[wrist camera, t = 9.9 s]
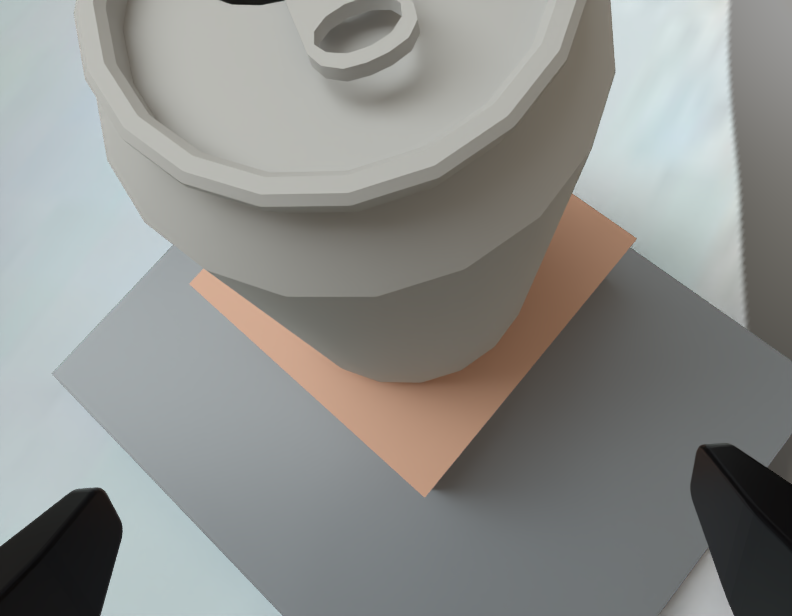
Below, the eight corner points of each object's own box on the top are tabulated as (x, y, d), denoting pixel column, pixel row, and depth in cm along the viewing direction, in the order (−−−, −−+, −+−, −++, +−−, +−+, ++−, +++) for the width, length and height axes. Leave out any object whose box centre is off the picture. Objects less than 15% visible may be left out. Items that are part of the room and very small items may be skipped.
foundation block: (605, 276, 22) (637, 238, 18) (430, 489, 20) (424, 497, 17) (401, 129, 24) (390, 67, 20) (234, 312, 23) (188, 283, 19)
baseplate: (810, 389, 21) (827, 385, 20) (492, 817, 19) (494, 836, 18) (357, 68, 26) (353, 53, 25) (67, 377, 24) (51, 373, 23)
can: (459, 121, 19) (461, -376, 8) (573, 319, 17) (807, 50, 6) (254, 220, 19) (-55, -135, 8) (346, 430, 17) (119, 385, 6)
